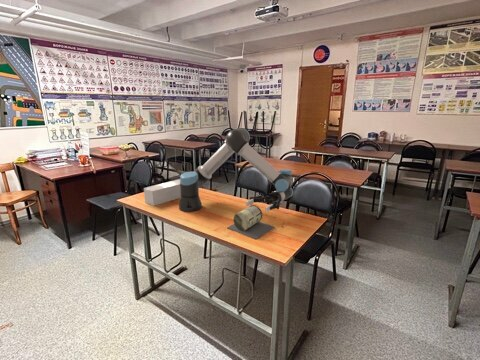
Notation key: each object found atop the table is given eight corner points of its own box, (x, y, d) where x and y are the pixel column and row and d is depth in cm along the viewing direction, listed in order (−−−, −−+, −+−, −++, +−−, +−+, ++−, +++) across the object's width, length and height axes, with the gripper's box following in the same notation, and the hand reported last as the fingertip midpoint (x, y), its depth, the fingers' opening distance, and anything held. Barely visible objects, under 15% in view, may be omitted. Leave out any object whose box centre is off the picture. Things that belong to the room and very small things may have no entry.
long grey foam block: (153, 206, 180) (152, 191, 177) (145, 202, 187) (143, 188, 184) (190, 194, 204) (189, 181, 201) (181, 191, 210) (180, 178, 208)
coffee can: (230, 220, 147) (244, 212, 158) (242, 234, 144) (255, 225, 155) (239, 208, 141) (253, 201, 152) (252, 223, 138) (265, 214, 149)
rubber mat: (227, 228, 147) (227, 227, 147) (247, 218, 161) (247, 217, 161) (256, 239, 135) (256, 238, 135) (275, 227, 149) (275, 226, 148)
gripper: (294, 207, 156) (274, 218, 141) (259, 198, 172) (238, 207, 156) (294, 195, 154) (275, 205, 139) (260, 187, 170) (238, 195, 154)
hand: (255, 206), depth 147 cm, fingers open, 13 cm apart
